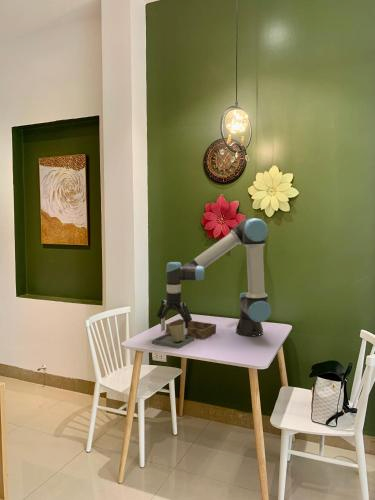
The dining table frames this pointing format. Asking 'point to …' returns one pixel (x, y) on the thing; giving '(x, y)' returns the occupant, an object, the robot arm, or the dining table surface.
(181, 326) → the flower pot
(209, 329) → the walled box
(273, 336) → the dining table surface
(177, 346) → the tray
